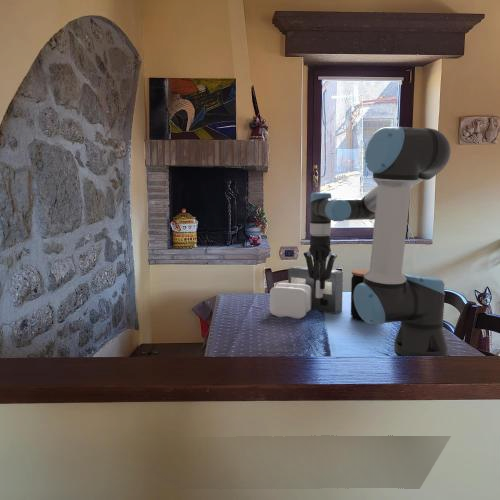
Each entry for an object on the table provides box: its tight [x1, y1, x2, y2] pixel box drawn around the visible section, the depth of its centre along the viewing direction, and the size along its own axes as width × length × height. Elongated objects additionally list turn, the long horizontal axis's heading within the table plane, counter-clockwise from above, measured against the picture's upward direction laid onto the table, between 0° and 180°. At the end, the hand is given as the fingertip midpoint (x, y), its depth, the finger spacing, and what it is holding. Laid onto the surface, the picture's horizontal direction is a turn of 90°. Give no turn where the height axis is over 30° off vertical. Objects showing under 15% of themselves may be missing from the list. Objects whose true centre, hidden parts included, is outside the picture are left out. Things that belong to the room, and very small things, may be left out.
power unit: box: [287, 265, 344, 314], centre depth 184 cm, size 6×22×16 cm, turn 52°
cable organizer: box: [269, 282, 311, 319], centre depth 175 cm, size 15×11×12 cm
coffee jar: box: [350, 268, 370, 323], centre depth 169 cm, size 11×11×18 cm
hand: (319, 297), depth 167 cm, fingers closed
